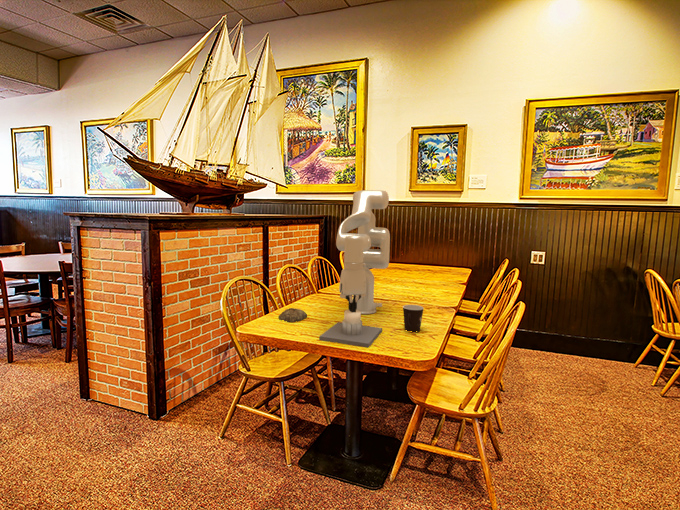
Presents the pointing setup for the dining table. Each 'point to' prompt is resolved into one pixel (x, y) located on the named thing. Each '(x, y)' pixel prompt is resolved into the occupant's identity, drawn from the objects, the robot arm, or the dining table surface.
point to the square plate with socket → (351, 334)
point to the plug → (352, 317)
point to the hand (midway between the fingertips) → (352, 311)
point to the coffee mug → (412, 317)
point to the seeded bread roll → (292, 315)
